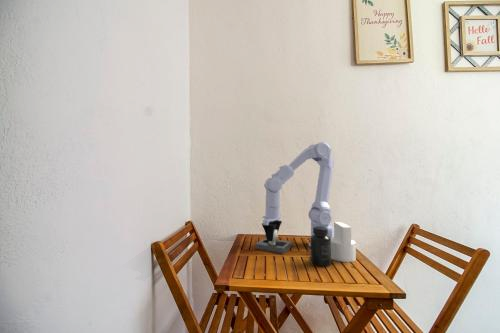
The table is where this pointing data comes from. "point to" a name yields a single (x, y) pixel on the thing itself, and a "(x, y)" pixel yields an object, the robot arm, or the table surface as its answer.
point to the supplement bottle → (320, 247)
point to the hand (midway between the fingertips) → (271, 239)
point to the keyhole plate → (273, 246)
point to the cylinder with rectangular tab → (343, 243)
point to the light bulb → (274, 237)
